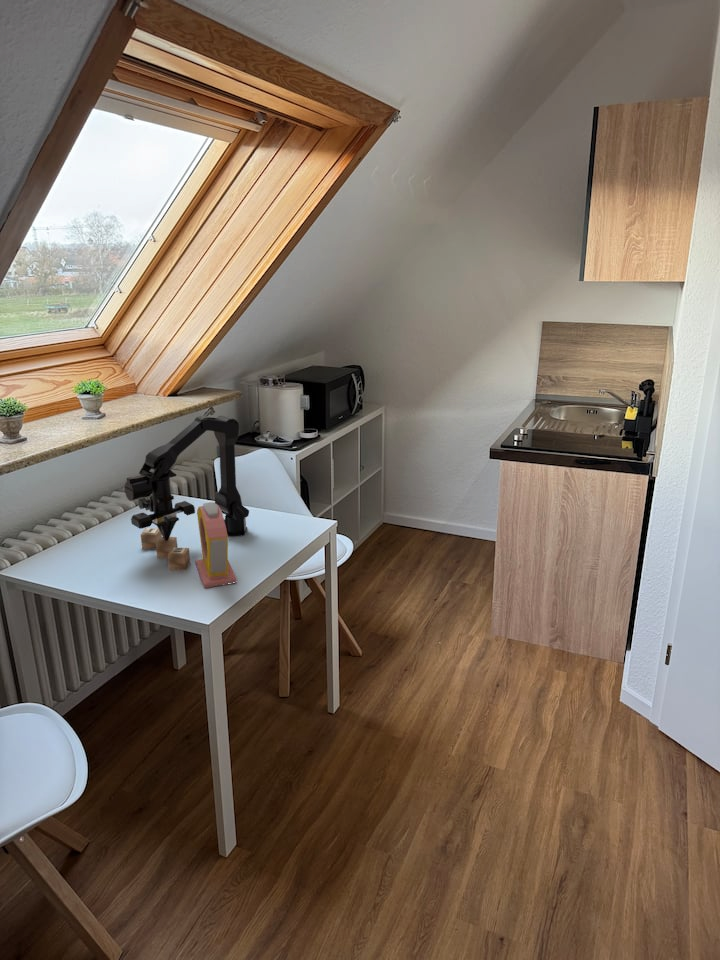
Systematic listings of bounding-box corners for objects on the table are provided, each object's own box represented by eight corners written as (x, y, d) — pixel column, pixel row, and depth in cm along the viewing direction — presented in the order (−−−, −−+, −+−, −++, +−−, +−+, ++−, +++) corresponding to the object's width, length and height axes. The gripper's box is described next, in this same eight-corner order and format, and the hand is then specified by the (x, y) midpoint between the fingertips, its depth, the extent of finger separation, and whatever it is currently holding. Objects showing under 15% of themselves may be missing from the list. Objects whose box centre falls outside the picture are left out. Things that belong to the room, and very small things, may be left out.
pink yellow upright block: (194, 561, 211) (188, 494, 204) (224, 556, 214) (220, 491, 208) (205, 593, 192) (199, 521, 185) (238, 587, 195) (234, 516, 188)
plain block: (177, 551, 218) (176, 536, 217) (173, 558, 213) (171, 543, 212) (162, 551, 218) (160, 536, 217) (157, 558, 214) (155, 543, 212)
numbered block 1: (162, 542, 225) (160, 527, 223) (157, 548, 220) (156, 533, 219) (147, 542, 225) (145, 527, 223) (142, 548, 220) (140, 533, 219)
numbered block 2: (190, 562, 211) (188, 546, 209) (185, 570, 206) (184, 553, 204) (173, 562, 211) (172, 546, 209) (169, 569, 206) (167, 553, 204)
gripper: (175, 479, 221) (180, 524, 226) (120, 493, 209) (125, 541, 214) (193, 487, 213) (198, 534, 218) (137, 502, 201) (143, 551, 206)
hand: (166, 540), depth 214 cm, fingers closed, pressing on plain block
